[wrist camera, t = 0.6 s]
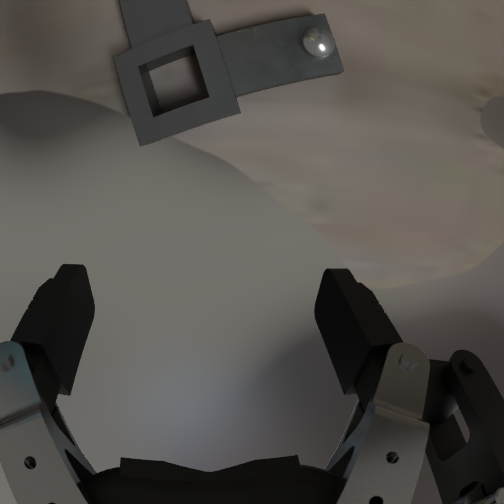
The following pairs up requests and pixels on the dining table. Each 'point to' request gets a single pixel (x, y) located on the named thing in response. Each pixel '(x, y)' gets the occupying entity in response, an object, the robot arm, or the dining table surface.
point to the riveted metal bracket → (214, 62)
